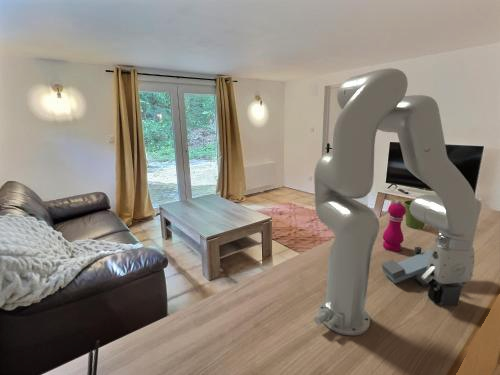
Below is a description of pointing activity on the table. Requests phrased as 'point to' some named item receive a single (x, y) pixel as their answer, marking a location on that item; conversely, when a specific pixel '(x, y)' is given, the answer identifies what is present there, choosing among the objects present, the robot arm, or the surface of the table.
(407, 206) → the plant pot
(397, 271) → the beam
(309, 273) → the table surface
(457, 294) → the iron block
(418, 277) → the stand
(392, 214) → the pepper mill
